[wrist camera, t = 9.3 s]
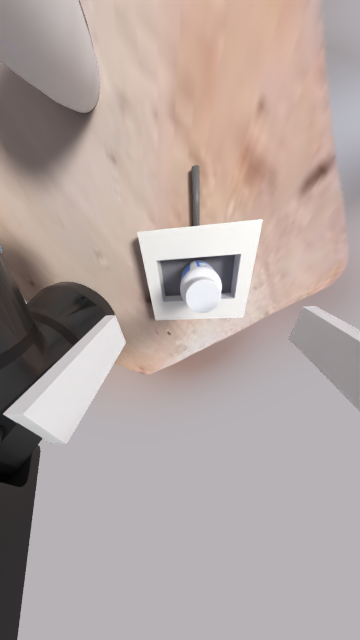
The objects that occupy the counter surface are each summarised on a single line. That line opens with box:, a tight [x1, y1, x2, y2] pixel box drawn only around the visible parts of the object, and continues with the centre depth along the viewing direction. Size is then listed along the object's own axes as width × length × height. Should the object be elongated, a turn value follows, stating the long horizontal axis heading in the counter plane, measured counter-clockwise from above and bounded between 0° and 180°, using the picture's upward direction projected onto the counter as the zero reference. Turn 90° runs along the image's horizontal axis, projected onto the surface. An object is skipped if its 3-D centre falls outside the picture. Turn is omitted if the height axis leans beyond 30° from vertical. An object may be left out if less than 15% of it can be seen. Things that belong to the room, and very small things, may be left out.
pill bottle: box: [180, 260, 222, 313], centre depth 19 cm, size 6×5×10 cm
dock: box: [137, 165, 263, 320], centre depth 21 cm, size 16×20×3 cm
